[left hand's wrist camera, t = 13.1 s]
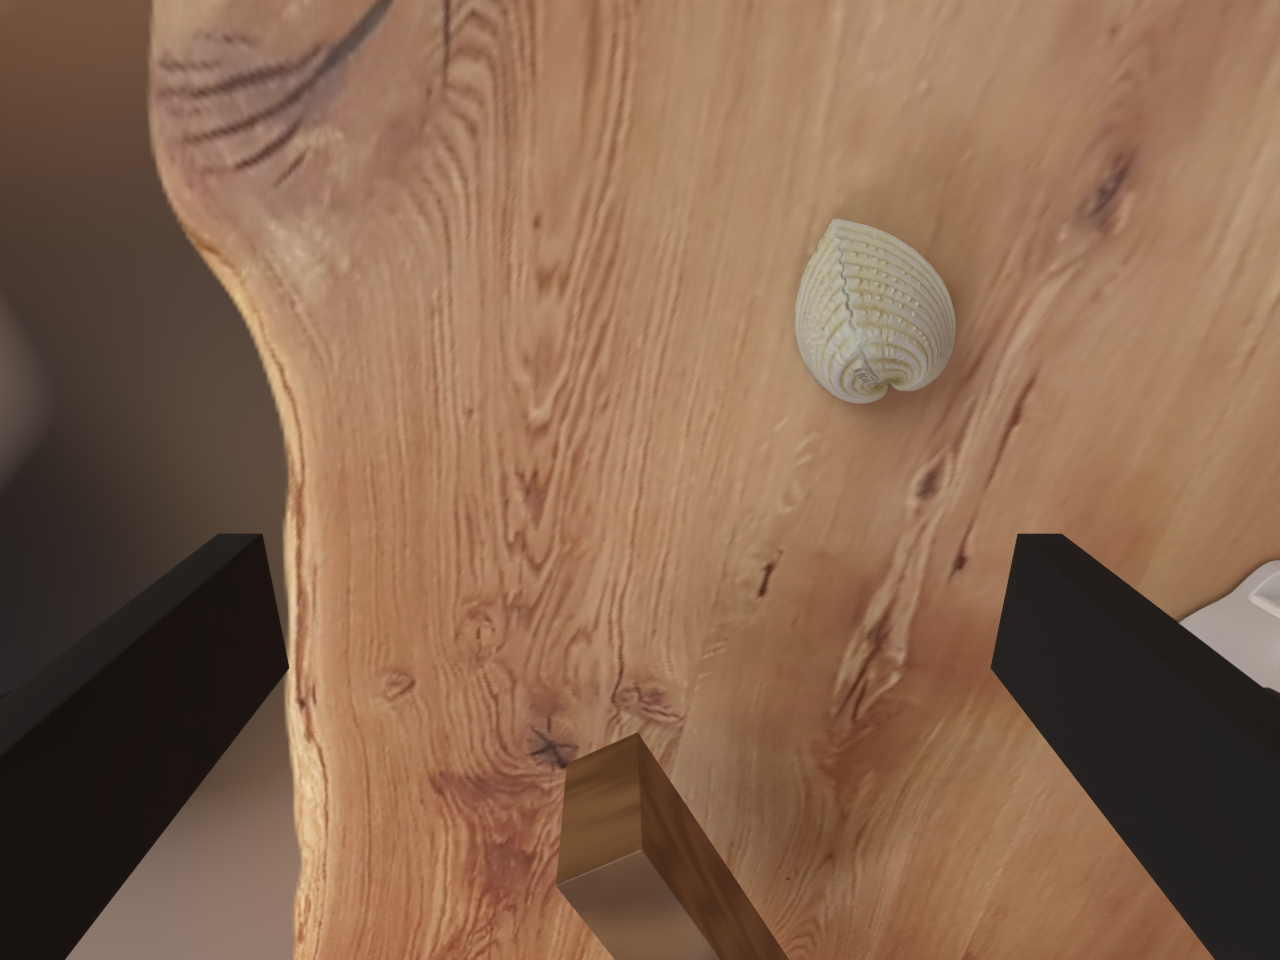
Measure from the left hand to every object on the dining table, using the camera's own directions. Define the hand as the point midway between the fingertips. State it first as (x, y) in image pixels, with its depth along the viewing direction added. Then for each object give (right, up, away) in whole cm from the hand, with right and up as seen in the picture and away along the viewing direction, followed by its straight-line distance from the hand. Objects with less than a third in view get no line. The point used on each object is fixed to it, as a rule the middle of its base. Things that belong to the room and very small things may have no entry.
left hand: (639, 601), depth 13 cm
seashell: (+12, +11, +27) cm, 32 cm away
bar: (+4, -24, +33) cm, 41 cm away
